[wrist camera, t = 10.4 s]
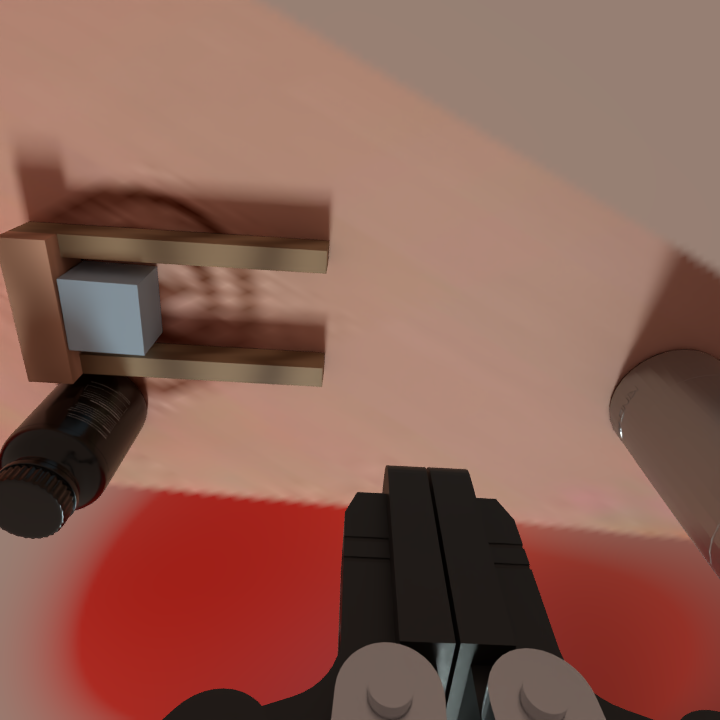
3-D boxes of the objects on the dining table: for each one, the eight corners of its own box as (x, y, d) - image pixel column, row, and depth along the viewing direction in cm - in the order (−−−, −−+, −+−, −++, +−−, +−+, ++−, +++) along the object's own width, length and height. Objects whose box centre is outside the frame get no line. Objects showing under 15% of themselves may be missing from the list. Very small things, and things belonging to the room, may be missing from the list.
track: (329, 240, 38) (325, 258, 34) (323, 370, 42) (320, 397, 39) (29, 221, 37) (-6, 237, 33) (57, 355, 41) (28, 381, 38)
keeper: (157, 265, 39) (137, 285, 35) (163, 331, 41) (144, 355, 37) (84, 260, 38) (56, 278, 35) (94, 326, 41) (69, 350, 37)
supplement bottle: (43, 377, 42) (-63, 479, 32) (123, 353, 41) (41, 450, 31) (89, 447, 45) (6, 561, 35) (164, 426, 44) (103, 537, 34)
